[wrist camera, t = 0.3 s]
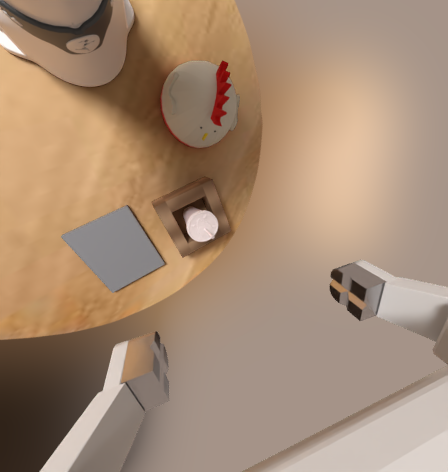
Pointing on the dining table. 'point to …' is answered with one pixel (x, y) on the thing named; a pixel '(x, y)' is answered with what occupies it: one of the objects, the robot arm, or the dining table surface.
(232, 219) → the dining table surface
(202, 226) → the smoothie
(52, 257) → the dining table surface
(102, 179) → the dining table surface
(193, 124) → the kitchen timer
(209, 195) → the holder collar
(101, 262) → the rubber mat
